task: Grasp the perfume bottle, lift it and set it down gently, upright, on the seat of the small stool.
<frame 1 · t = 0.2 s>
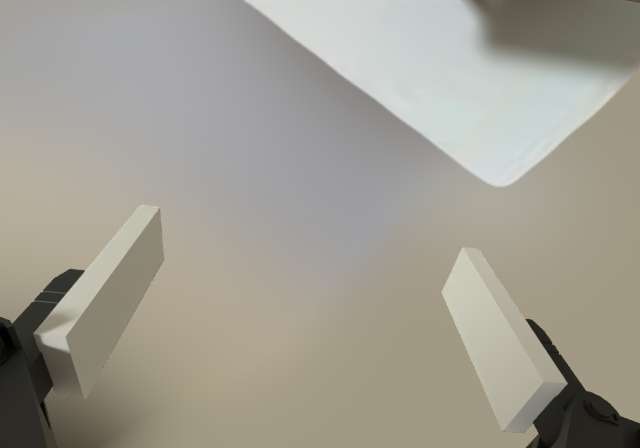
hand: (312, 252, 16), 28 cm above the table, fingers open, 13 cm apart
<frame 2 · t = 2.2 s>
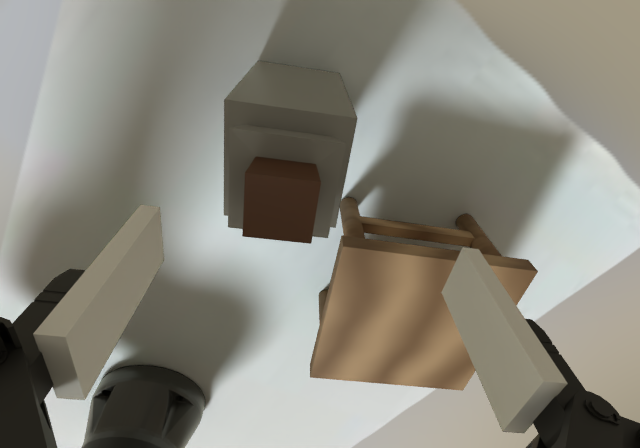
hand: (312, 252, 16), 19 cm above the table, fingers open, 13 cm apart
stool: (390, 260, 41), on the table
perfume bottle: (294, 107, 32), on the table
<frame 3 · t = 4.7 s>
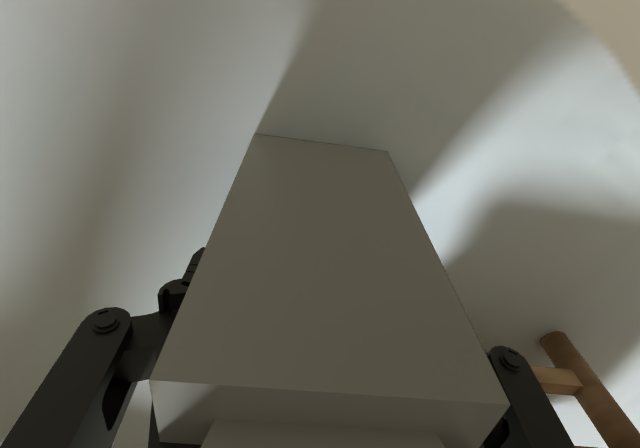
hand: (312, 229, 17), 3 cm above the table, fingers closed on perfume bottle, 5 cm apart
stool: (442, 384, 29), on the table
perfume bottle: (312, 199, 20), on the table, touching gripper
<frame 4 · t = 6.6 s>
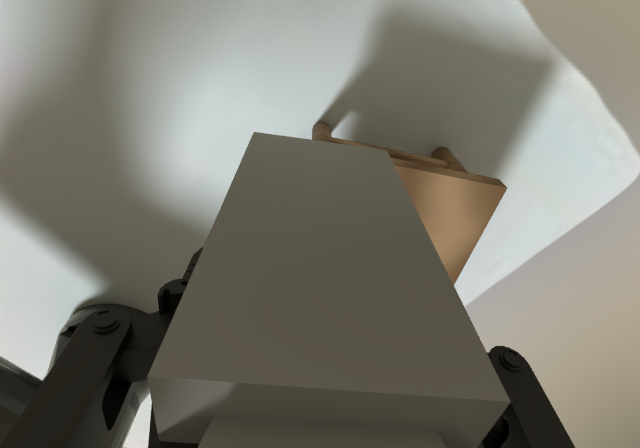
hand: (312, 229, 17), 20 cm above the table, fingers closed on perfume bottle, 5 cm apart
stool: (365, 197, 40), on the table
perfume bottle: (312, 198, 20), point 17 cm above the table, touching gripper
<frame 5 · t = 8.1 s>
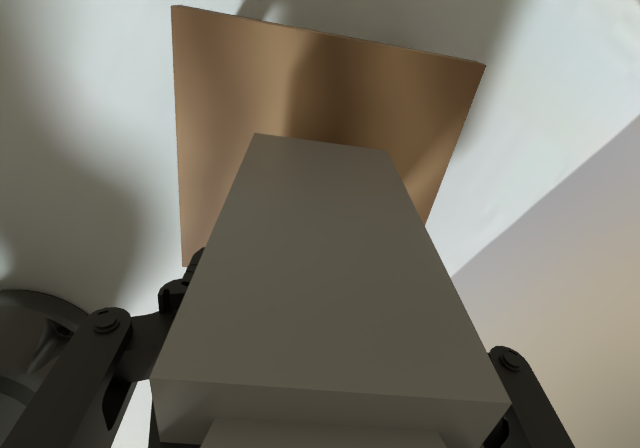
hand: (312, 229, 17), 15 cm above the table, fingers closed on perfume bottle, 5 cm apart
stool: (311, 130, 30), on the table
perfume bottle: (313, 198, 20), point 12 cm above the table, touching gripper
when the fingers open (14 cm above the table, at t = 9.0 s): perfume bottle drops 1 cm, resting on stool.
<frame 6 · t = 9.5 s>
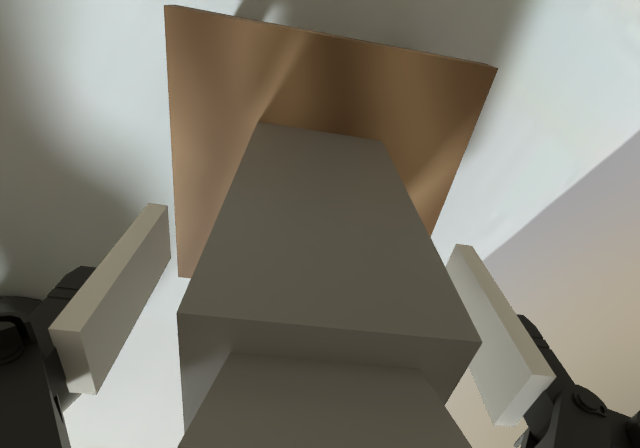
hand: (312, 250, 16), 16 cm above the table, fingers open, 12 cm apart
stool: (312, 134, 29), on the table
perfume bottle: (311, 186, 21), point 10 cm above the table, touching stool
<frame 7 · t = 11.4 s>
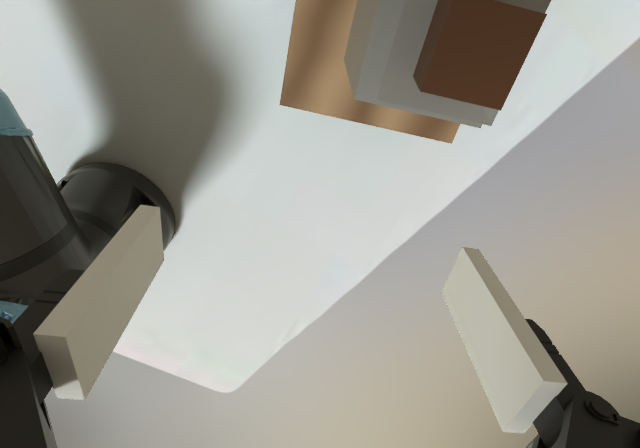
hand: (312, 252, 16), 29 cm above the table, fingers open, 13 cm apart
stool: (380, 18, 36), on the table
perfume bottle: (395, 23, 28), point 10 cm above the table, touching stool
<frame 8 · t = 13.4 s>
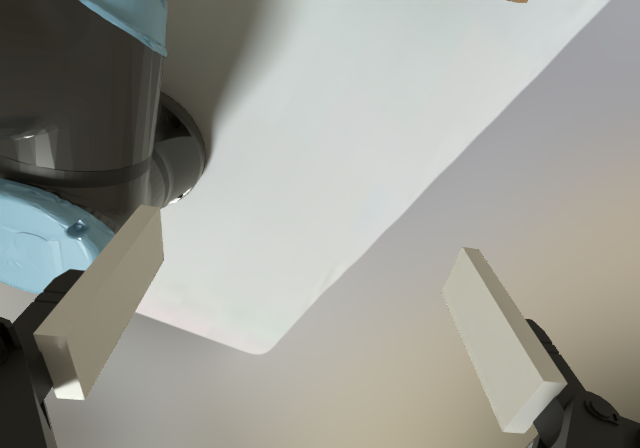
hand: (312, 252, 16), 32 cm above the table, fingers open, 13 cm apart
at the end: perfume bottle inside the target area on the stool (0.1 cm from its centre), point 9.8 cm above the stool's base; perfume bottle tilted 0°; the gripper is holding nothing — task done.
